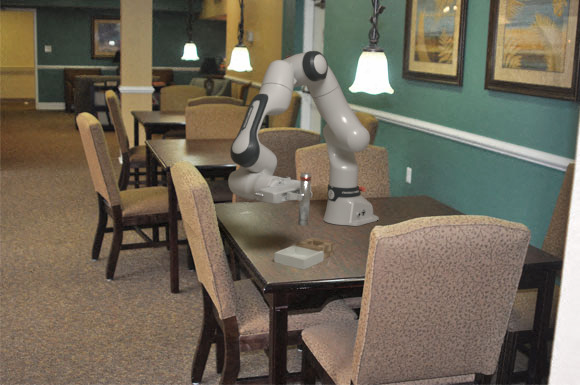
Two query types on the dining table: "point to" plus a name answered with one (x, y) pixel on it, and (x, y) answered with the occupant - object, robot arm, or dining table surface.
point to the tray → (298, 257)
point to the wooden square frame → (318, 246)
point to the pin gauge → (304, 204)
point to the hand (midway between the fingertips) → (307, 196)
